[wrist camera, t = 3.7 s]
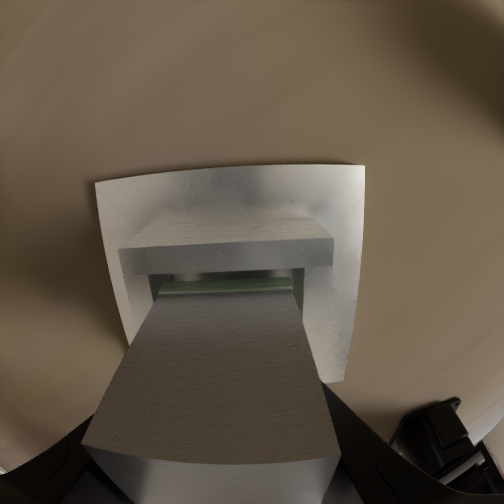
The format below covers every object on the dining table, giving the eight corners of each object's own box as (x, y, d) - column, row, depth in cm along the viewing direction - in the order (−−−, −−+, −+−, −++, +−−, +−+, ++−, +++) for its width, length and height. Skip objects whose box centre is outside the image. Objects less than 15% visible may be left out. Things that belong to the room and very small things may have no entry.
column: (287, 371, 12) (312, 522, 5) (184, 374, 12) (151, 519, 5) (290, 276, 10) (344, 452, 3) (164, 281, 10) (77, 441, 3)
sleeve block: (339, 370, 16) (357, 417, 12) (147, 376, 16) (130, 422, 12) (356, 164, 12) (397, 169, 9) (104, 180, 12) (57, 192, 9)
